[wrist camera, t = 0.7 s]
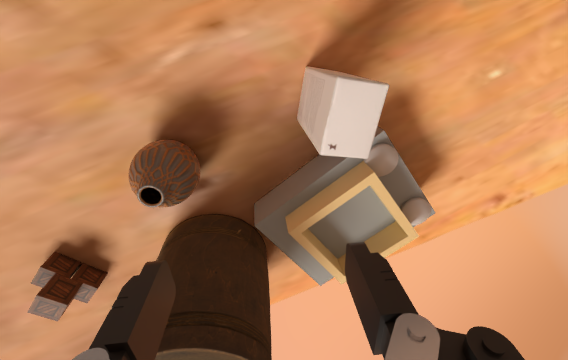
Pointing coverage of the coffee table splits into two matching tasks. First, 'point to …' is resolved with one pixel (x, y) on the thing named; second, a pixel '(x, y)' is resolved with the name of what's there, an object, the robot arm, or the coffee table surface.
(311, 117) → the skincare box
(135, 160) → the vase
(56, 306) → the stack of crates
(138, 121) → the coffee table surface
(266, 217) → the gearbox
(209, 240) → the wooden container
